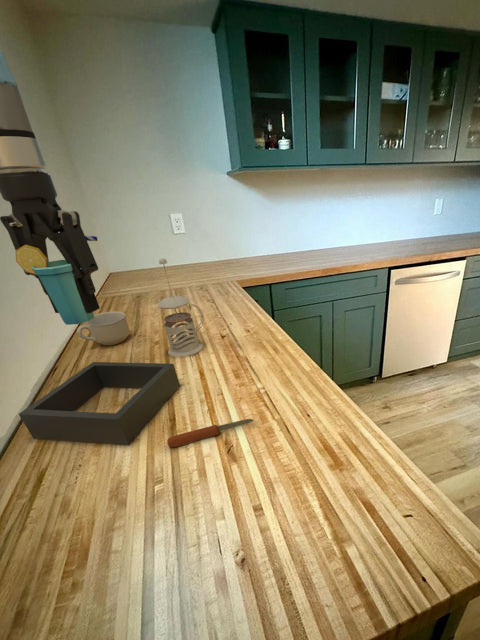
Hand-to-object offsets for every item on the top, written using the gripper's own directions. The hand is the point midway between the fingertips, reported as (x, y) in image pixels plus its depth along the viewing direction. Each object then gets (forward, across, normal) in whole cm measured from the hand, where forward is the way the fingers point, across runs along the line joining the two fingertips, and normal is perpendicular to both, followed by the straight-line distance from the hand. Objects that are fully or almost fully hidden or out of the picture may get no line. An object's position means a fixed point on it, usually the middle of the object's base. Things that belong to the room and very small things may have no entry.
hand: (77, 310), depth 65 cm
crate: (+21, -3, +4) cm, 21 cm away
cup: (+2, -1, 0) cm, 2 cm away
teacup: (+21, +22, -28) cm, 42 cm away
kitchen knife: (+21, -28, +10) cm, 36 cm away
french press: (+21, -6, -26) cm, 34 cm away
